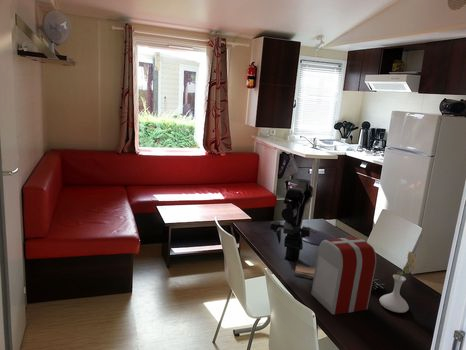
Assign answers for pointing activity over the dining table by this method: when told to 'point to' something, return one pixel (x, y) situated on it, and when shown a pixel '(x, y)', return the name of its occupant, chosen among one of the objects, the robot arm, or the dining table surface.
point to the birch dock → (304, 273)
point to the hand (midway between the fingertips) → (288, 245)
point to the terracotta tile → (305, 270)
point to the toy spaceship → (317, 237)
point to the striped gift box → (344, 274)
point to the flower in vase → (394, 298)
